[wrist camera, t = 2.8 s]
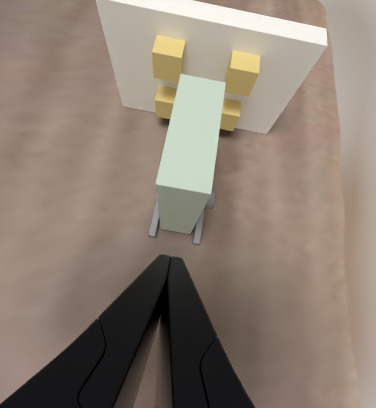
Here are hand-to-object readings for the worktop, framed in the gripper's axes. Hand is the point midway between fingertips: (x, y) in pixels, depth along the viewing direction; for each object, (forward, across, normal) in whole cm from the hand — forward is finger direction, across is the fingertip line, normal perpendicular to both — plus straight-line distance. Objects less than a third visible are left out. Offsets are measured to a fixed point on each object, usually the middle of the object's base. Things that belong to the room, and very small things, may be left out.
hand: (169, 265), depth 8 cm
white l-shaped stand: (+21, 0, -2) cm, 22 cm away
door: (+15, 0, +4) cm, 16 cm away
